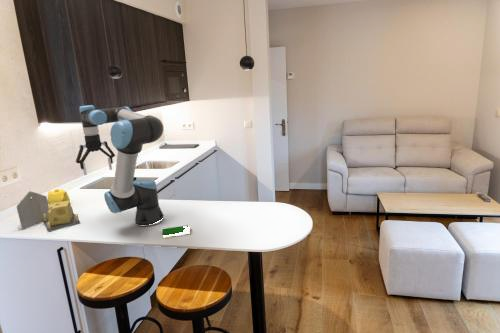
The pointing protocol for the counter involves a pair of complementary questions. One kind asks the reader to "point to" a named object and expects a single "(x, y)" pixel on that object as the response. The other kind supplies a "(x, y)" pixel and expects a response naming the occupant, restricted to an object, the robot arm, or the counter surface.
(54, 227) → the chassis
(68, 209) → the cheese
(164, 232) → the dish sponge
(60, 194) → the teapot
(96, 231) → the counter surface
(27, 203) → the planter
